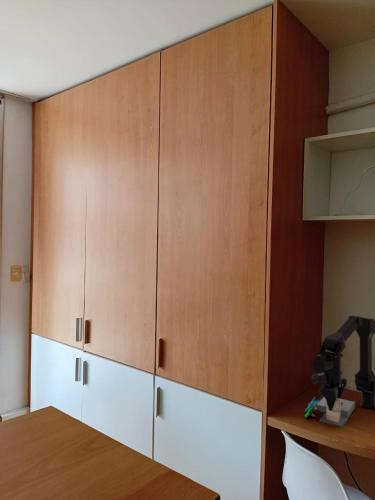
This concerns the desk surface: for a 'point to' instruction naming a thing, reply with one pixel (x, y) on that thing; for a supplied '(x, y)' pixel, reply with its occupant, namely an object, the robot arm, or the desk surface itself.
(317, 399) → the stick construction toy
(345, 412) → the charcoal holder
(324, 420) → the dark gray panel
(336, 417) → the cream block
